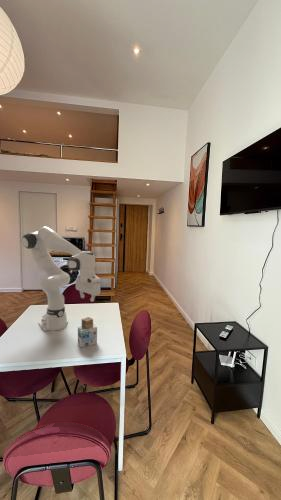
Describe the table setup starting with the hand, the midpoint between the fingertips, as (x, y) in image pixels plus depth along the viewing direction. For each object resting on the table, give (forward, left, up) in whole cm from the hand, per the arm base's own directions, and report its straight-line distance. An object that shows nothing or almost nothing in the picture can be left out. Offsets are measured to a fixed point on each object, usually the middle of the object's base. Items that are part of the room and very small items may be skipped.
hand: (87, 299), depth 136 cm
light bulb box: (0, 0, -29) cm, 29 cm away
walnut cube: (0, 0, -18) cm, 18 cm away
